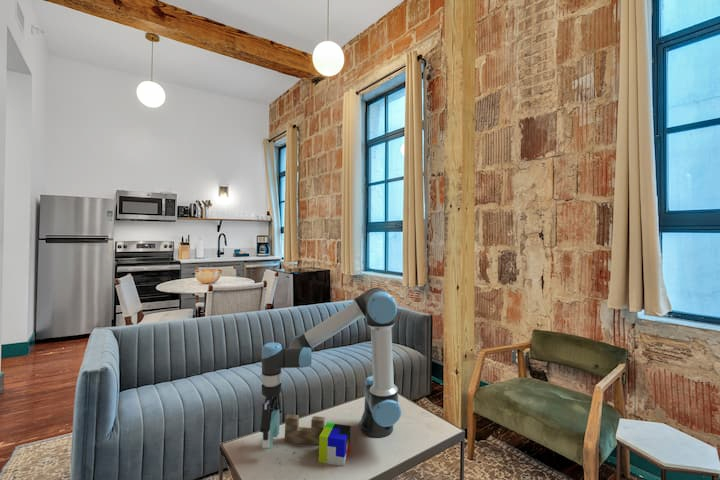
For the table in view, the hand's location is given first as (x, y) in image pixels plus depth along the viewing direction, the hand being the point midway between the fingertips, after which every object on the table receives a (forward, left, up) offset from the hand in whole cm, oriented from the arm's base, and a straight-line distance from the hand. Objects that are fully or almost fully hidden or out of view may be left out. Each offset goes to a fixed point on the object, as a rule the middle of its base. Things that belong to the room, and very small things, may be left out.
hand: (271, 438), depth 138 cm
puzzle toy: (-25, -1, -6) cm, 26 cm away
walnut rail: (-11, -9, -6) cm, 16 cm away
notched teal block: (0, 0, -1) cm, 1 cm away
